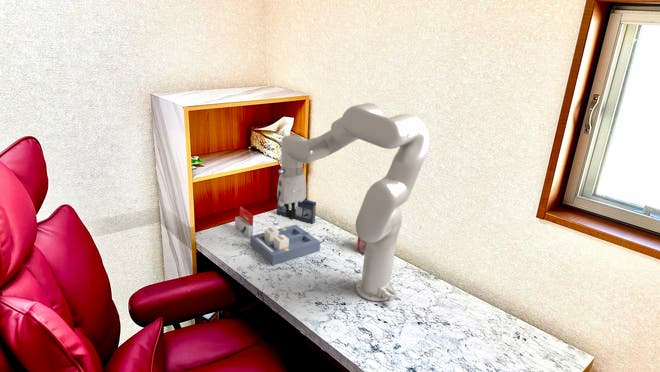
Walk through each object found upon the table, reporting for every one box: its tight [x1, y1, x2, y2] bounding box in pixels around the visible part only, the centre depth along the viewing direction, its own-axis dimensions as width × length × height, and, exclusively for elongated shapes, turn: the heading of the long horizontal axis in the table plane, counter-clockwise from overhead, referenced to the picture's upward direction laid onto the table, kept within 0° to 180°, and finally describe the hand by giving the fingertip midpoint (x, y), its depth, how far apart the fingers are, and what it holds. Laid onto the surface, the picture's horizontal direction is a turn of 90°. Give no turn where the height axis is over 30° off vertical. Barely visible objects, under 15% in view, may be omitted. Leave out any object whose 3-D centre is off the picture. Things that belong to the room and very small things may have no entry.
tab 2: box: [274, 235, 289, 251], centre depth 160 cm, size 4×4×6 cm
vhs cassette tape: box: [276, 199, 317, 225], centre depth 191 cm, size 18×3×10 cm, turn 64°
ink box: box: [234, 205, 254, 239], centre depth 175 cm, size 2×11×10 cm, turn 40°
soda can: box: [356, 235, 366, 255], centre depth 168 cm, size 7×7×12 cm
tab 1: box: [264, 227, 279, 243], centre depth 165 cm, size 4×4×6 cm
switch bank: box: [249, 224, 321, 266], centre depth 166 cm, size 17×21×4 cm
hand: (290, 218), depth 158 cm, fingers closed
